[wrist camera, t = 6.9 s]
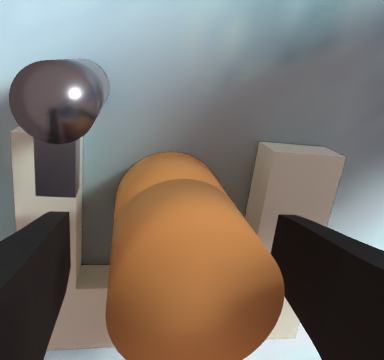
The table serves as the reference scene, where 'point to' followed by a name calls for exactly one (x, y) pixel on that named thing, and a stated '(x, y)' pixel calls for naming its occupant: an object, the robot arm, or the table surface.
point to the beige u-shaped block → (255, 215)
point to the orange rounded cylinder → (186, 267)
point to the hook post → (58, 117)
